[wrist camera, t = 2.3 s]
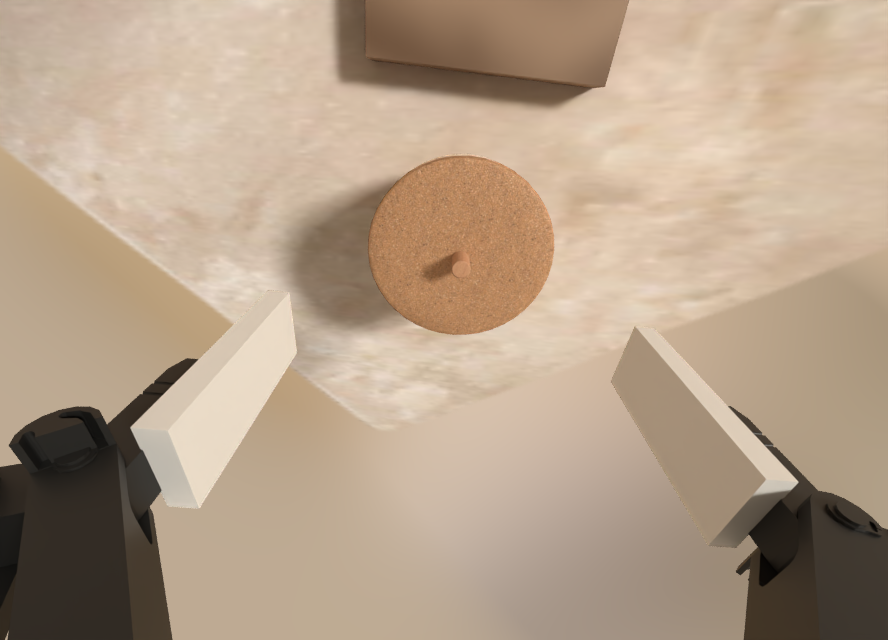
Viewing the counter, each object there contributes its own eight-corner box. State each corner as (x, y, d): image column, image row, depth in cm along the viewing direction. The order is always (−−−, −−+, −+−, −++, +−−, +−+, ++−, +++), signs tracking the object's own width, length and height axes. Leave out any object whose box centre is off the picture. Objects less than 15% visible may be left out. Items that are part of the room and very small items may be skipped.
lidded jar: (371, 257, 29) (340, 316, 21) (415, 116, 24) (396, 121, 16) (491, 302, 31) (505, 372, 23) (556, 180, 26) (604, 214, 18)
